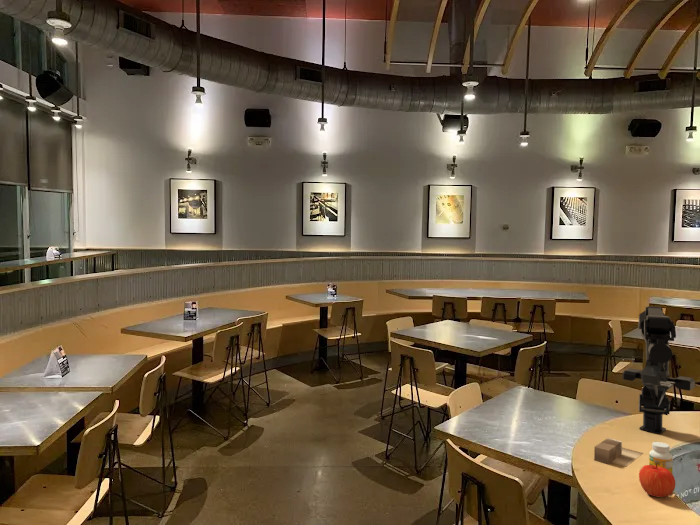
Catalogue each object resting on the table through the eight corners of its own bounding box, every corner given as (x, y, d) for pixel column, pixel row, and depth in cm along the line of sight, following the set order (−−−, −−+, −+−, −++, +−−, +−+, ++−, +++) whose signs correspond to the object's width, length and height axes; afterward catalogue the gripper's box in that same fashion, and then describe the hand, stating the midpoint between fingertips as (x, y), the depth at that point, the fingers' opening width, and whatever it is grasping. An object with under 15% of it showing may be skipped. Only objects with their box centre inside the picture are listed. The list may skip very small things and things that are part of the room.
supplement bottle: (677, 482, 137) (677, 446, 137) (661, 485, 136) (662, 449, 135) (659, 473, 142) (660, 439, 142) (644, 476, 141) (644, 442, 140)
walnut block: (607, 437, 157) (594, 446, 151) (621, 441, 154) (608, 450, 148) (607, 450, 157) (594, 460, 151) (621, 454, 154) (608, 464, 148)
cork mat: (615, 446, 162) (615, 445, 162) (643, 454, 156) (643, 452, 156) (597, 459, 152) (597, 458, 152) (626, 467, 146) (626, 466, 146)
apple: (637, 496, 130) (637, 465, 129) (640, 484, 136) (640, 454, 136) (674, 505, 125) (674, 473, 125) (675, 492, 132) (676, 461, 131)
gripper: (616, 355, 162) (615, 405, 162) (685, 365, 148) (684, 419, 148) (629, 350, 169) (628, 397, 170) (695, 359, 155) (695, 410, 156)
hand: (657, 406), depth 161 cm, fingers closed
